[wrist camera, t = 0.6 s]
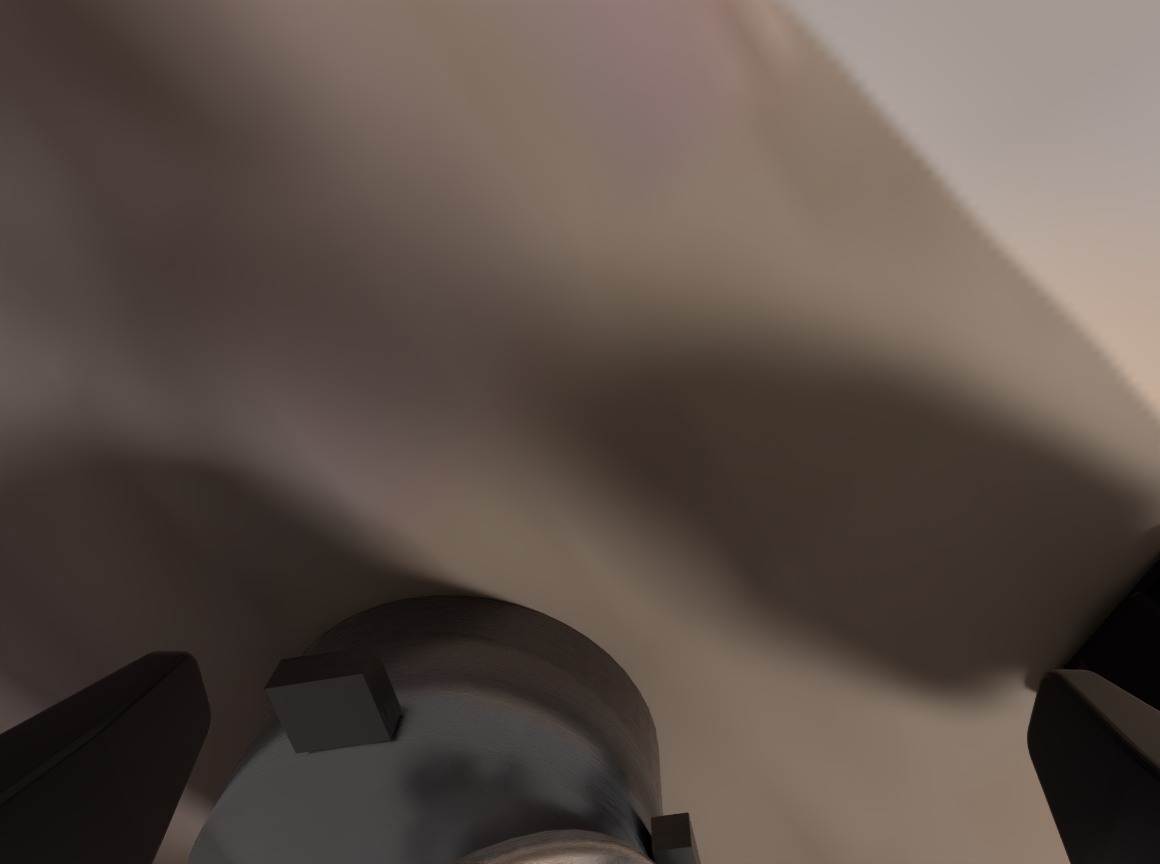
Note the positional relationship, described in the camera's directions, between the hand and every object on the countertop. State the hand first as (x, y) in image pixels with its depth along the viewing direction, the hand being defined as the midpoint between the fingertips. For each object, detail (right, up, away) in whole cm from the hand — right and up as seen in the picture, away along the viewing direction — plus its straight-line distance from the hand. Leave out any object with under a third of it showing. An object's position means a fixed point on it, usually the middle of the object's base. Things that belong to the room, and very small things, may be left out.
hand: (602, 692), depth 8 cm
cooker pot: (-4, -8, +18) cm, 20 cm away
